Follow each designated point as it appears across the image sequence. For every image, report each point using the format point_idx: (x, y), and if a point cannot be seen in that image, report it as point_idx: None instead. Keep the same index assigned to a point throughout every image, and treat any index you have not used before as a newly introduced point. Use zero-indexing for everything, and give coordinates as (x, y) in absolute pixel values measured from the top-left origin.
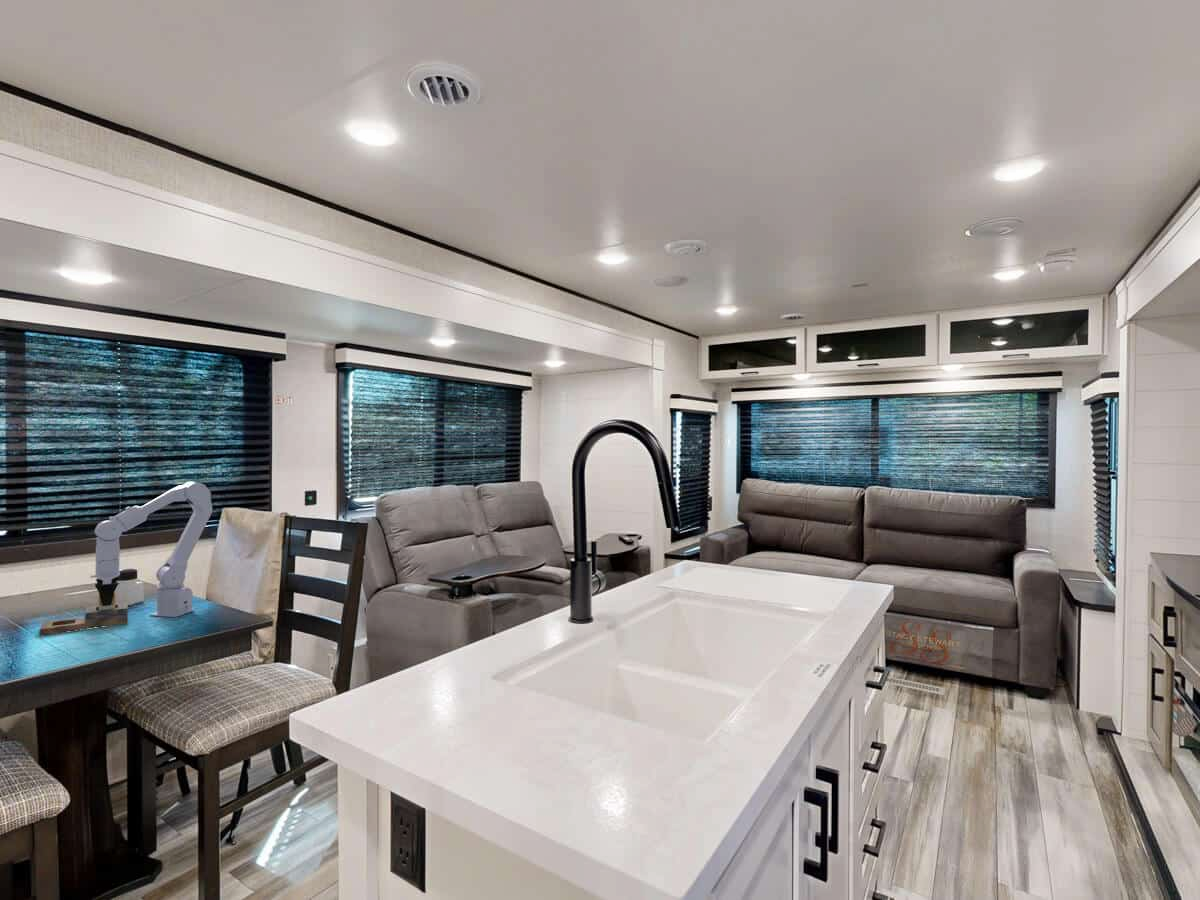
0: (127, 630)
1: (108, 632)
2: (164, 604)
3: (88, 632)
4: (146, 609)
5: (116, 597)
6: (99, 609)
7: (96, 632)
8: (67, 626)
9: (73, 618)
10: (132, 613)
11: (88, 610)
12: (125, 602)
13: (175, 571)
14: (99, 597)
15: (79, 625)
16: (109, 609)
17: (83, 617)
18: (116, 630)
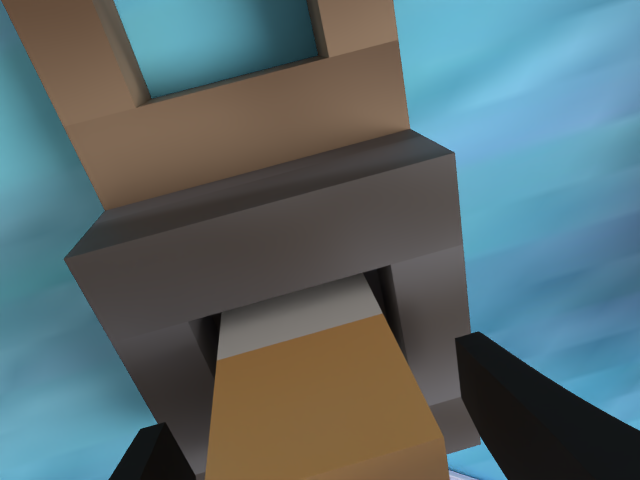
0: (48, 453)
1: (10, 370)
2: None
3: (33, 240)
4: (588, 382)
5: None
6: (223, 342)
7: (23, 296)
8: (35, 62)
9: (364, 22)
10: (525, 342)
11: (221, 243)
12: (465, 439)
13: None
14: (207, 476)
15: (88, 163)
16: (206, 419)
17: (371, 115)
18: (61, 398)
